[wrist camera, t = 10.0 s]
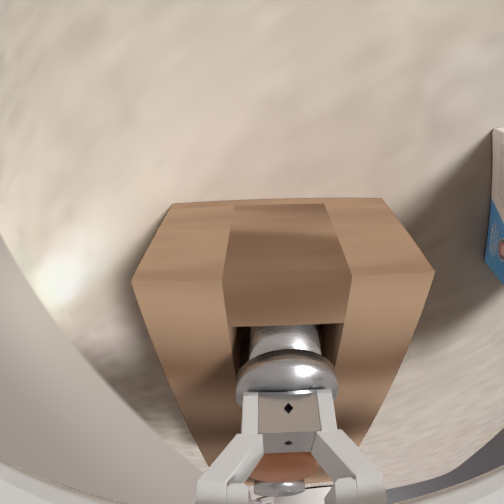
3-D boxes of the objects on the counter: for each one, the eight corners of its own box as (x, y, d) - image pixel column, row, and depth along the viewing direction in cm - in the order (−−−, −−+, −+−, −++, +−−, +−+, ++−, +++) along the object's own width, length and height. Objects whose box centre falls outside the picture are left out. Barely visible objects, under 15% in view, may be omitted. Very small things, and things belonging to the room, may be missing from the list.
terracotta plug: (306, 393, 20) (313, 480, 14) (252, 394, 20) (249, 482, 15) (310, 360, 18) (321, 460, 13) (249, 362, 18) (244, 463, 13)
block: (330, 423, 26) (337, 480, 21) (223, 427, 27) (218, 484, 22) (381, 198, 15) (435, 271, 9) (172, 203, 15) (130, 281, 10)
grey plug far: (299, 428, 24) (302, 495, 19) (256, 429, 24) (254, 497, 19) (302, 408, 22) (307, 484, 17) (254, 410, 22) (252, 486, 17)
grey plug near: (314, 310, 17) (331, 417, 11) (246, 313, 17) (240, 421, 11) (319, 253, 15) (346, 364, 9) (241, 255, 15) (230, 369, 10)
